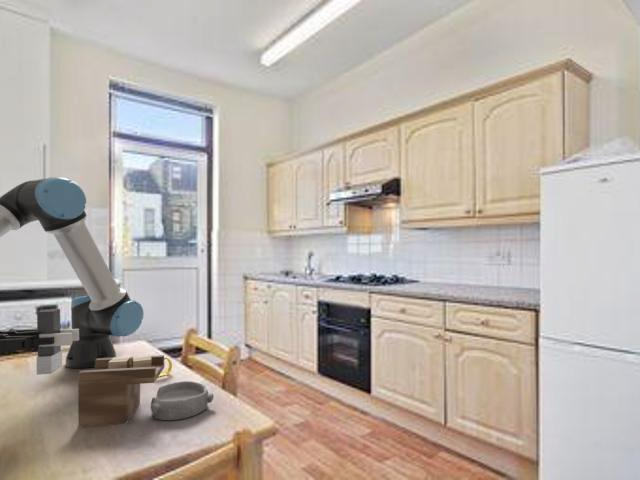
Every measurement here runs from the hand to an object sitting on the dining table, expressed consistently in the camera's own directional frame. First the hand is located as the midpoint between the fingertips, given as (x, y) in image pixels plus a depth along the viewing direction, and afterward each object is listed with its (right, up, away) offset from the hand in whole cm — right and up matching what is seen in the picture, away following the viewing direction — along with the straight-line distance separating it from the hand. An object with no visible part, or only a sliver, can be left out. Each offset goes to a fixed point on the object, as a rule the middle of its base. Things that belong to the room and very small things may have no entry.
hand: (74, 336), depth 97 cm
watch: (+9, -19, +30) cm, 37 cm away
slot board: (+11, -19, +2) cm, 22 cm away
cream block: (+15, -9, +3) cm, 17 cm away
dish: (+24, -19, +4) cm, 31 cm away
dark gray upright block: (-5, -8, -1) cm, 9 cm away
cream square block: (+10, -9, +2) cm, 13 cm away
